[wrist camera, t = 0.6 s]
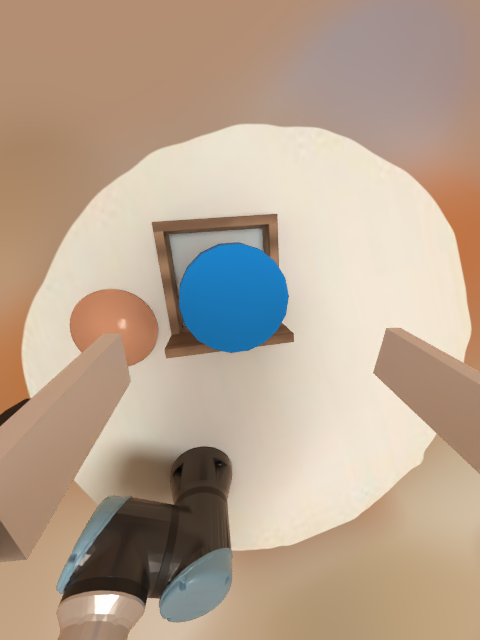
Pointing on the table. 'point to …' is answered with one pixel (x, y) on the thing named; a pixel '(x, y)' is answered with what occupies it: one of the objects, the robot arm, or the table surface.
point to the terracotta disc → (115, 322)
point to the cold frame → (181, 335)
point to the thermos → (233, 297)
